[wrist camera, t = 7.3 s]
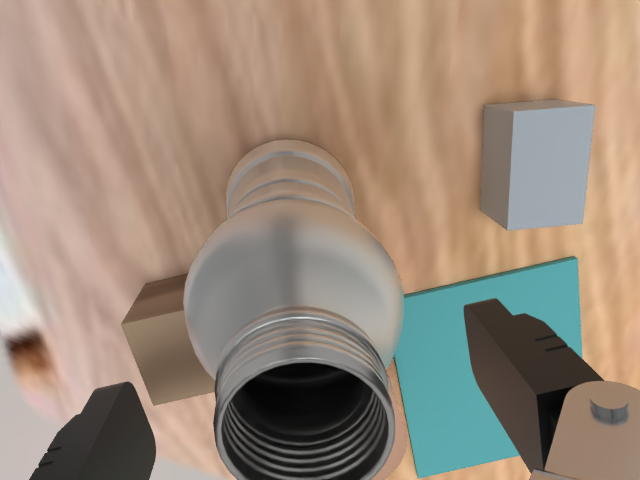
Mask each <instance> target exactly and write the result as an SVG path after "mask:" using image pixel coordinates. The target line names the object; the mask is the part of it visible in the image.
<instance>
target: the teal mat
mask: <svg viewBox="0 0 640 480" xmlns="http://www.w3.org/2000/svg"><path fill="white" fill-rule="evenodd" d="M492 298H497V299H498V300H499V301H500V302H501V303H502V304H503V305H504V306H505V307H506V308H507V310H508V311H509V312H510V313H511V314H512V315H518V314H522V313H526V314H528V315H530V316H533V317H535V318H537V319H539V320H542V321H544V322H545V323H546V324H547V325H548V326H549V327H550V328H551V329H552V330H553V331H554V332H555V333H556V334H557V336H558V337H560V338H561V339H562V340H564V341H565V342H566V343H567V345H568V347H571V348H572V349H573V350H574V351H575V352H576V353H577V354H578V355H579V356H580V357H581V358H582V342H581V321H580V299H579V278H578V259H577V258H576V257H574V256H573V257H569V258H565V259H560V260H556V261H552V262H547V263H543V264H538V265H534V266H530V267H525V268H521V269H517V270H512V271H508V272H503V273H499V274H495V275H490V276H486V277H482V278H477V279H473V280H468V281H464V282H460V283H455V284H451V285H447V286H442V287H438V288H434V289H429V290H425V291H420V292H416V293H412V294H407V295H404V318H403V325H402V332H401V336H400V340H399V344H398V348H397V350H396V352H395V354H394V358H395V364H396V369H397V374H398V379H399V384H400V389H401V395H402V400H403V405H404V410H405V415H406V420H407V425H408V431H409V436H410V441H411V446H412V451H413V456H414V462H415V467H416V472H417V476H418V478H422V477H427V476H431V475H436V474H440V473H444V472H449V471H453V470H457V469H462V468H466V467H471V466H475V465H479V464H484V463H488V462H493V461H497V460H501V459H506V458H510V457H515V456H519V455H520V454H519V453H518V451H517V449H516V448H515V446H514V445H513V443H512V441H511V440H510V438H509V436H508V435H507V433H506V431H505V430H504V428H503V426H502V425H501V423H500V422H499V420H498V418H497V417H496V415H495V413H494V412H493V410H492V408H491V407H490V405H489V404H488V402H487V400H486V399H485V397H484V395H483V394H482V392H481V390H480V389H479V387H478V385H477V383H476V380H475V377H474V374H473V371H472V367H471V363H470V356H469V349H468V342H467V335H466V327H465V320H464V311H463V310H464V305H466V304H471V303H475V302H479V301H484V300H488V299H492Z"/></svg>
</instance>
